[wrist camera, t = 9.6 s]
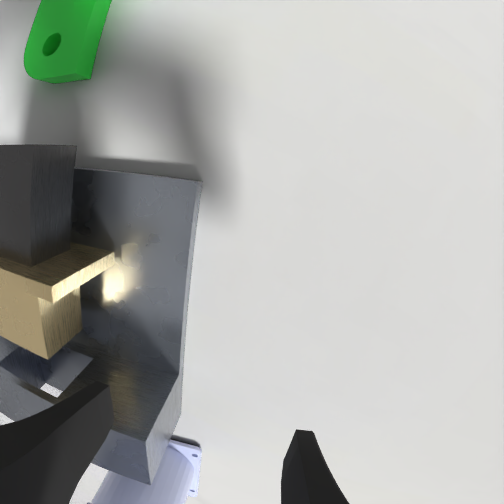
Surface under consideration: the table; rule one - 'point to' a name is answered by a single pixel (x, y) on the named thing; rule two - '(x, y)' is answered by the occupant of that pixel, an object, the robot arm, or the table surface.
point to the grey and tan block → (41, 249)
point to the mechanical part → (65, 39)
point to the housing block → (122, 316)
